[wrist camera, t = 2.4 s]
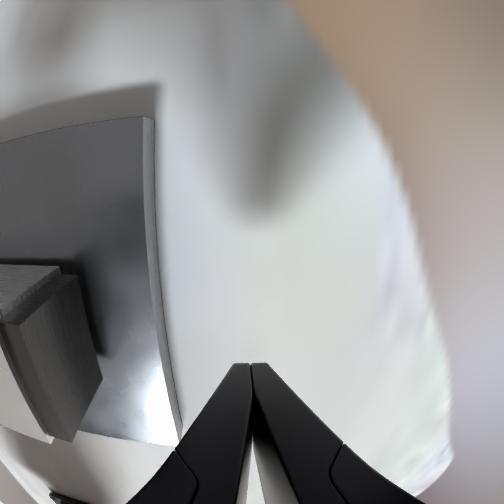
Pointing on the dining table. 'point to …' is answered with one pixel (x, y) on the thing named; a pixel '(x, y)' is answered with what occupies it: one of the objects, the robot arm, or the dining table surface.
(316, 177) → the dining table surface
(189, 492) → the robot arm
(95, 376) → the threaded rod block
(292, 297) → the dining table surface
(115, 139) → the gauge board
